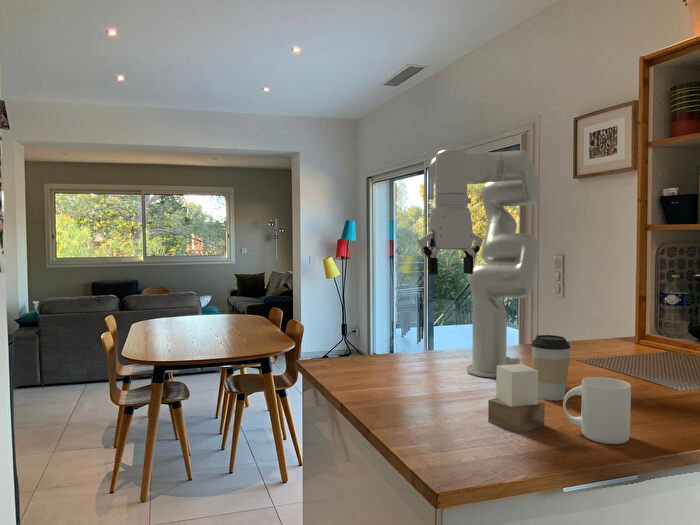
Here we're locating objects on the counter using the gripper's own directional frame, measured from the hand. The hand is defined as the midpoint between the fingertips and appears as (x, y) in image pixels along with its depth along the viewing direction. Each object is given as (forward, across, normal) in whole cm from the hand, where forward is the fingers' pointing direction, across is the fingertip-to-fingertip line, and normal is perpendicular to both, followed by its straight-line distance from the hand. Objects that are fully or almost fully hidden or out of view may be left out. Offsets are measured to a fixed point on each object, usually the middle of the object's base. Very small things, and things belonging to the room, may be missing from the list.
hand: (450, 274), depth 127 cm
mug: (+31, -14, +31) cm, 46 cm away
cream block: (+26, -4, +20) cm, 33 cm away
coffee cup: (+31, -24, +7) cm, 39 cm away
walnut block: (+31, -4, +20) cm, 37 cm away
